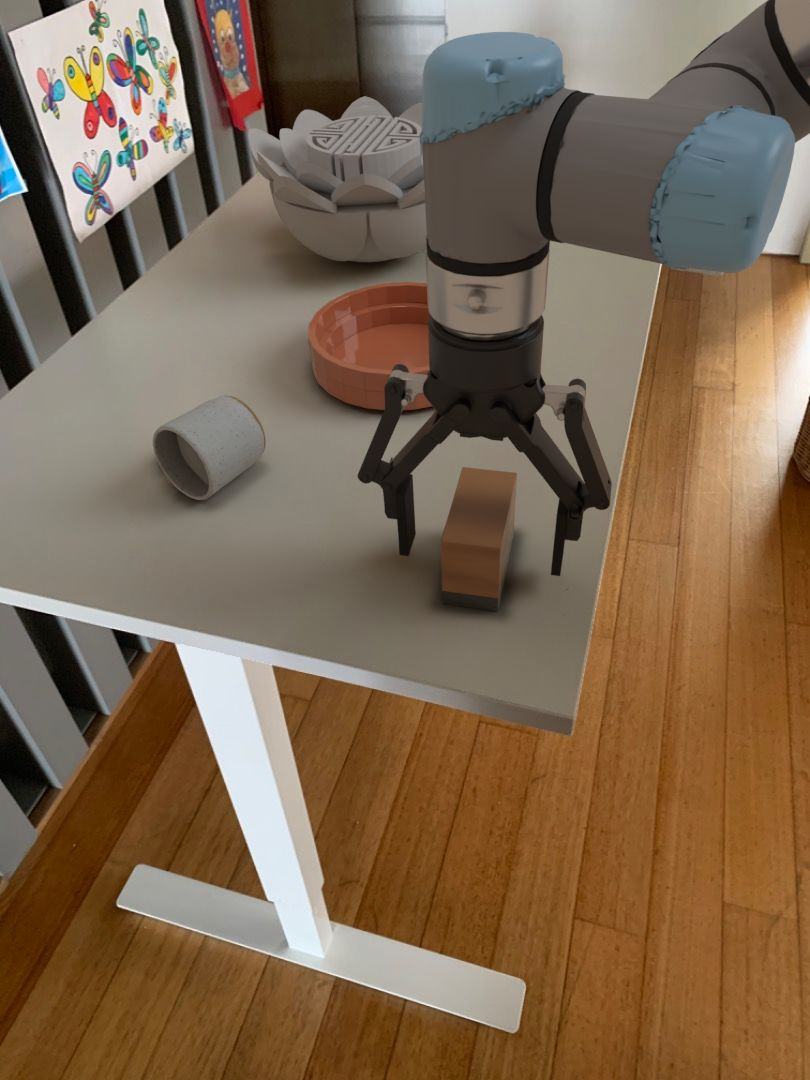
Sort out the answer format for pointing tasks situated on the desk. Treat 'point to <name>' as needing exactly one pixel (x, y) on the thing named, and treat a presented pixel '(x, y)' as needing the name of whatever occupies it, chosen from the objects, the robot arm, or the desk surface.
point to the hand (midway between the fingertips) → (481, 554)
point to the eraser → (478, 538)
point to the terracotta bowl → (370, 341)
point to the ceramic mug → (209, 446)
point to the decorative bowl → (349, 181)
